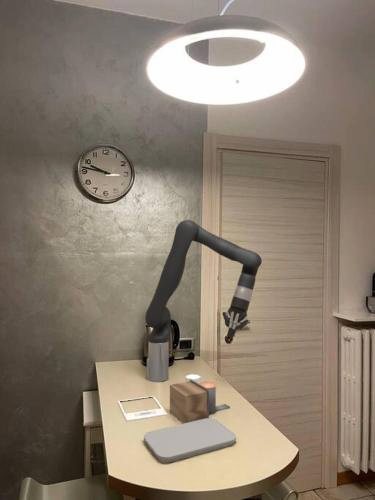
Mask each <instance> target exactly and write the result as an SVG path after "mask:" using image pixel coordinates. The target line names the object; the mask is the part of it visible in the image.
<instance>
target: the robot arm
mask: <svg viewBox="0 0 375 500" xmlns="http://www.w3.org/2000/svg"><path fill="white" fill-rule="evenodd" d="M172 241H173V242H172V243H171V244H172V245H171V248H170V250H169V253H168V255H167V258H166V260H165V263H164V265H163V267H162V272H161V274H160V277H159V280H158V283H157V286H156V289H155V291H154V294H153V297H152V300H151V302H150V303H149V306H148V308H147V309H146V312H145V323H146V325H147V326H148V327H150V328H151V329H152V330H151V332H150V334H148V357H147V358H146V380H149V381H150V382H156V383H157V382H158V383H159V382H165V381H167V380H169V365H170V363H169V360H170V358H169V356H170V355H169V349H170V348H169V347H170V346H169V337H170V335H171V323H172V322H171V320H172V317H171V315H172V314H171V311H170V310H169V308H168V307H167V304H168V302H169V300H170V298H171V297H172V296H173V294H174V293H175V292H176V291H177V289H178V287H179V286H180V283H181V280H182V278H183V275H184V273H185V272H184V271H185V268H186V267H185V266H186V260H187V255H188V252H189V250H190V247H191V244H192V243H193V242H196V243H198V244H201V245H203V246H205V247H207V248H209V249H211V251H214V252H215V253H217V254H218V255H220V256H222V257H224V258H227V259H228V260H230V261H233V262H237V263H238V264H241V265H242V267H241V271H240V275H239V277H238V280H237V284H236V287H235V289H234V292H233V295H232V298H231V302H230V307H229V308H228V309H227V311H222V317H223V320H224V324H225V325H226V326H227V327H228V330H227V333H226V334H227V335H226V336H227V338H230V339H233V338H235V335H236V332H237V330H242V329H243V328H244V327H246V326H247V325H249V324H250V323H251V321H250V319H248V317H247V316H248V310H249V306H250V303H251V301H252V296H253V291H254V287H255V285H256V277H257V273H258V270H259V267H261V265H262V263H263V262H262V257H261V256H260V254H258V253H257V252H256V251H252V250H250V249H247V248H244V247H242V246H240V245H237V244H236V243H233V242H231V241H229V240H227V239H225V238H222V237H220V236H218V235H216V234H213V233H211V232H209V230H206V229H205V228H203V227H202V226H200V225H199V224H198V223H197V222H195V221H193V220H191V219H186V220H183V221H180V222H179V223H178V224H177V226H176V228H175V233H174V237H173V240H172Z"/></svg>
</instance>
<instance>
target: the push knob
mask: <svg viewBox="0 0 375 500" xmlns="http://www.w3.org/2000/svg"><path fill="white" fill-rule="evenodd" d="M199 384H200V385H202V386H203V387H205V388H207V389H208V390H209V414H213V413H216V412H215V410H216V406H217V404H216V400H217V399H216V396H217V395H216V392H217V391H216V390H217V389H216V387H217V385H216V382H213V381H210V380H209V381H201V383H199ZM212 412H213V413H212Z"/></svg>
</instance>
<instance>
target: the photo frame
mask: <svg viewBox="0 0 375 500" xmlns="http://www.w3.org/2000/svg"><path fill="white" fill-rule="evenodd" d="M149 397H151V398H153V400H154V402H155V403H156V405H157V406H158V407H159V408H155V409H149V410H143V411H136V412H130V413H129V412H128V413H126V412H125V410H124V408H123V405H122V403H121V402H120V401H123V402H129V401H128V400H130V401H136V400H143V398H144V399H150V398H149ZM116 402H117V404H118V406H120V407H119V408H121V409H120V411H121V413H122V415H123V417H124V419H125V421H126V423H130V422H135V421H141V420H147V419H154V418H160V417H167V416H168V413H167V411H166V410H165V409H164V407H163V406H162V405H161V403H160V402H159V401H158V399H157V398H156V397H155V395H150V396H144V397H143V396H142V397H136V398H129V399H123V400H117V401H116Z"/></svg>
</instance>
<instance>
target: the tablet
mask: <svg viewBox="0 0 375 500" xmlns="http://www.w3.org/2000/svg"><path fill="white" fill-rule="evenodd" d="M236 439H237V435H236V434H235V432H233V431H232V430H231V429H230V428H228V427H227V426H226V425H224V424H223V423H222V422H220V421H219V420H218V419H215V418H212V417H209V418H206V419H201V420H197V421H193V422H188V423H184V424H183V423H180V424H176V425H172V426H167V427H163V428H158V429H154V430H150V431H147V432H145V433H144V435H143V440H144V442H145V444H146V445H147V447H148V448H149V449H150V450H151V451H152V453H153V454H154V455H155V457H156V458H157V460H158V461H160V462H161V463H164V464H165V463H166V464H167V463H172V462H175V461H176V462H177V461H180V460H183V459H187V458H191V457H194V456H198V455H202V454H204V453H208V452H212V451H215V450H219V449H223V448H226V447H229V446H232V445H233V444H234V443H235V441H236Z"/></svg>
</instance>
